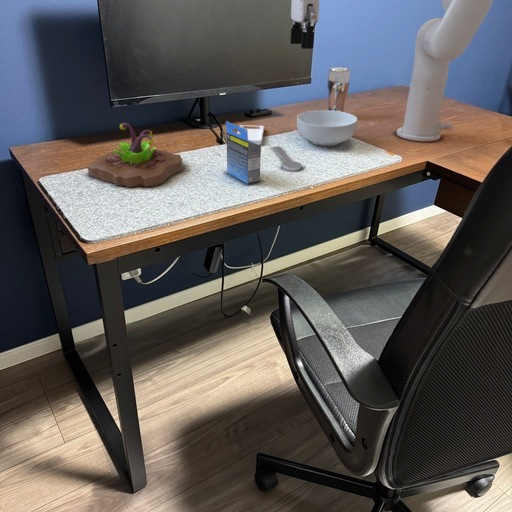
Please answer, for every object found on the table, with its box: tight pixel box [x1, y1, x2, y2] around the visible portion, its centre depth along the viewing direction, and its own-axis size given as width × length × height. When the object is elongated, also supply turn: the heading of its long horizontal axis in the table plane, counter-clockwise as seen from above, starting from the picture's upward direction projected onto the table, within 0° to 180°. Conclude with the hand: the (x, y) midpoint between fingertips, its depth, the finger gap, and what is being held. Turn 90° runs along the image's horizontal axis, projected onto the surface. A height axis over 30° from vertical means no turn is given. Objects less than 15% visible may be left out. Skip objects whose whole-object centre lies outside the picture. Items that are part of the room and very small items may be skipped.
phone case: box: [236, 124, 265, 146], centre depth 140 cm, size 7×1×15 cm
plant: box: [87, 122, 183, 188], centre depth 112 cm, size 20×20×11 cm
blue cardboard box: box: [225, 120, 262, 185], centre depth 110 cm, size 9×4×12 cm, turn 35°
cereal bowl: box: [296, 109, 358, 147], centre depth 136 cm, size 17×17×7 cm
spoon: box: [273, 146, 302, 172], centre depth 125 cm, size 5×17×1 cm, turn 12°
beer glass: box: [326, 66, 351, 112], centre depth 159 cm, size 7×7×15 cm
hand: (301, 46), depth 133 cm, fingers open, 9 cm apart
